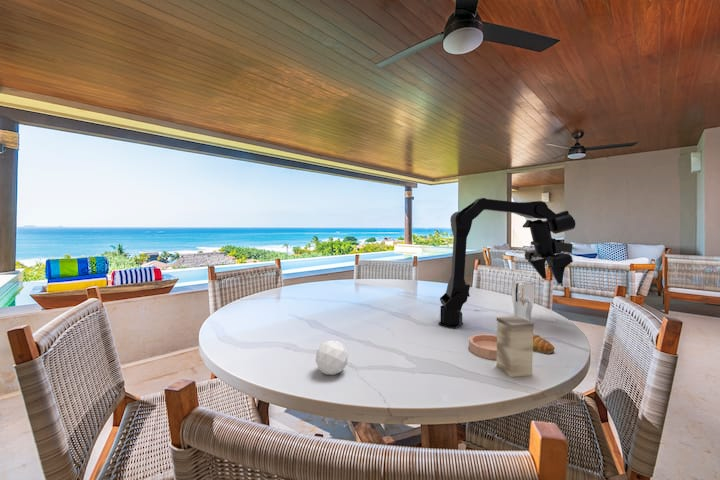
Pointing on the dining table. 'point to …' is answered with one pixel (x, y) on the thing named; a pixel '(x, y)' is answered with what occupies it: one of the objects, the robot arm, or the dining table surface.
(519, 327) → the lidded square box
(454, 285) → the robot arm
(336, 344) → the geometric ball
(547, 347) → the pastry
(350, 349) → the dining table surface
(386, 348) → the dining table surface
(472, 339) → the terracotta bowl
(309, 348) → the dining table surface
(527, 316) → the beer glass
